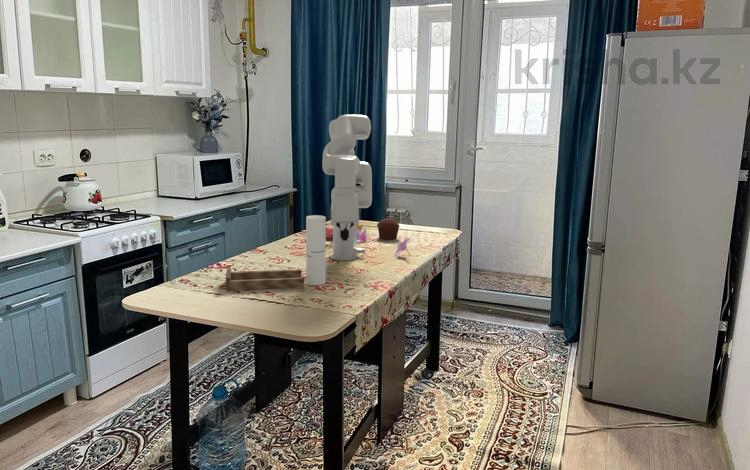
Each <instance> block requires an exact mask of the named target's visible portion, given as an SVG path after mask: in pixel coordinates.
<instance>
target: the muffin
mask: <svg viewBox="0 0 750 470" xmlns="http://www.w3.org/2000/svg"><path fill="white" fill-rule="evenodd" d="M376 227H377V230H378V231H377V232H378V236H379V237H378V238H379V240H381V241H382V240H383V241H395V240H397V239H398V233H399V228H400V224H399V223H398V222H397V220H395V219H393V218H387V217H386V218H383V219H381V220H379V221H378V222H377V224H376Z"/></svg>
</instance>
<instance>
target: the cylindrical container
mask: <svg viewBox="0 0 750 470" xmlns="http://www.w3.org/2000/svg"><path fill="white" fill-rule="evenodd" d="M326 221H327V217H326V216H324V215H318V214H313V215H308V216H307V215H306V218H305V223H306V224H305V226H306V227H305V231H306V232H305V236H306V237H305V239H306V241H305V244H306V246H305V247H306V250H305V251H306V252H305V253H306V254H305V255H306V258H305V262H306V263H305V264H306V267H305V268H306V269H305V270H306V275H305V276H306V279H305V281H306V284H307V285H310V286H321V285H325V284H326V264H327V263H326V257H327V256H326V255H327V254H326V252H327V251H326V248H327V245H326V227H327V225H326V224H327V222H326Z"/></svg>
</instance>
